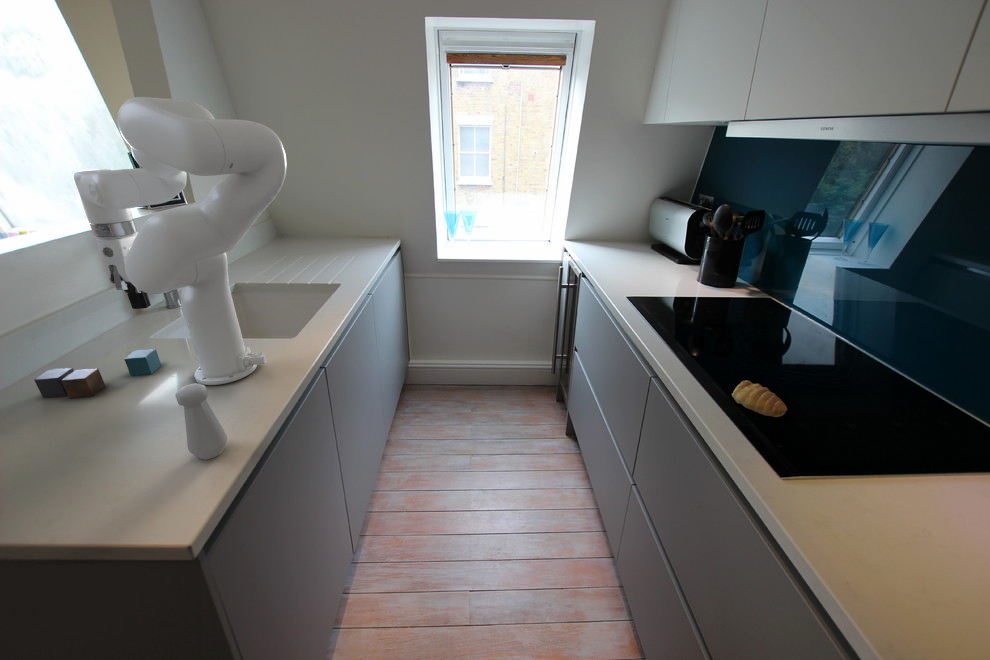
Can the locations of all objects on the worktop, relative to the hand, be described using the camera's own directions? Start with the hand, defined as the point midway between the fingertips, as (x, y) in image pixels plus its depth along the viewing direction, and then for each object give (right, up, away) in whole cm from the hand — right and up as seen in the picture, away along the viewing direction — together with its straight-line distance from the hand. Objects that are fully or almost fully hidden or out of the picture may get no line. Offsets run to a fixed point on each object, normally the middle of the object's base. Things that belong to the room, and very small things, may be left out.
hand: (141, 307), depth 105 cm
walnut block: (-4, -19, -9) cm, 21 cm away
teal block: (+2, -15, -1) cm, 15 cm away
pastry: (+136, -21, -15) cm, 139 cm away
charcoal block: (-10, -19, -9) cm, 23 cm away
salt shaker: (+34, -27, -28) cm, 51 cm away
